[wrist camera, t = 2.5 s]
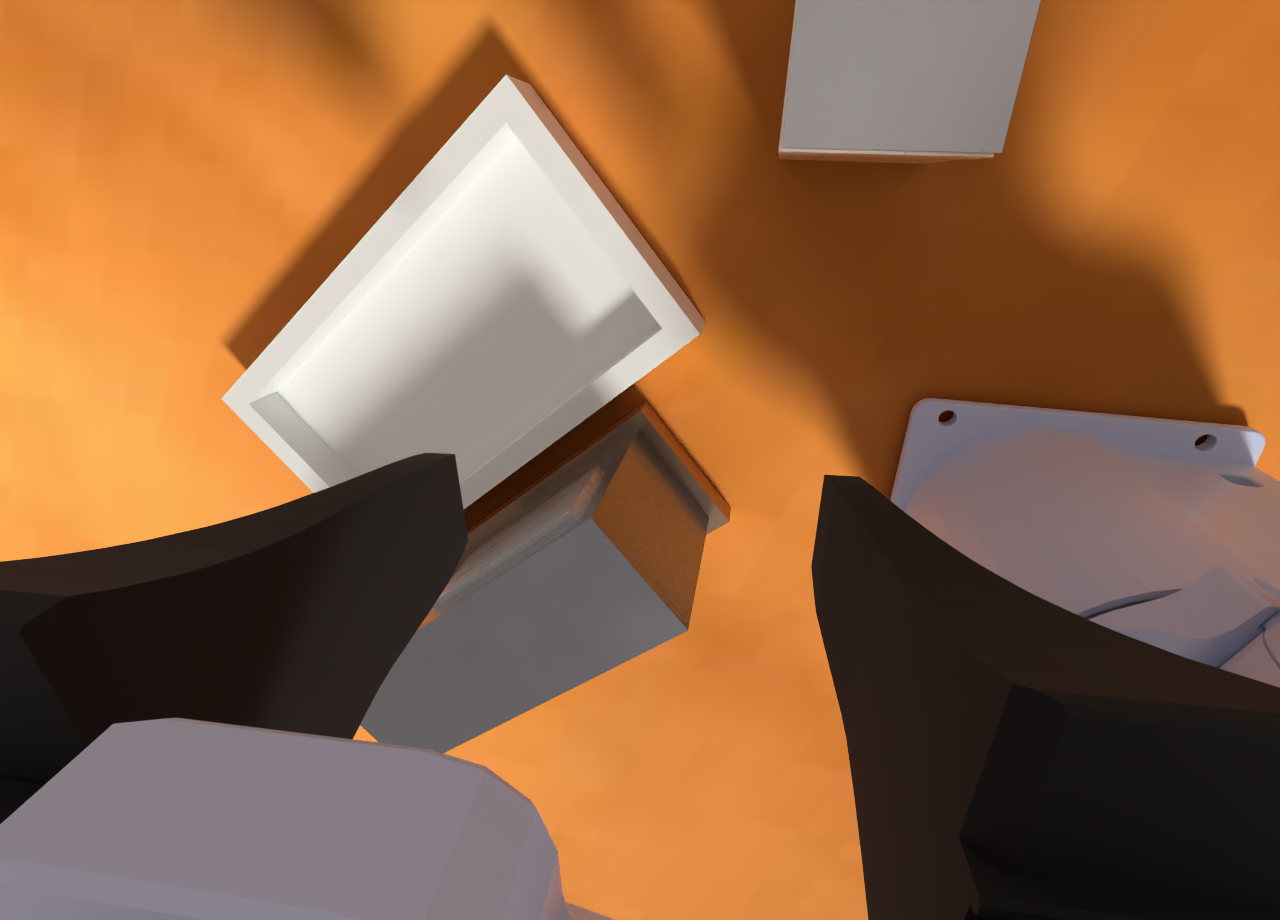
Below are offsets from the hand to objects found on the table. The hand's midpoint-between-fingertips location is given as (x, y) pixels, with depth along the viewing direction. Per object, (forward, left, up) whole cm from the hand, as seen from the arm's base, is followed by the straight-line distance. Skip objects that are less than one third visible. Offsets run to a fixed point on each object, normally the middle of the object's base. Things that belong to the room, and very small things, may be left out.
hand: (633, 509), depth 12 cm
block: (-4, -8, -10) cm, 13 cm away
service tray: (+8, 0, -9) cm, 13 cm away
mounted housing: (+5, +7, -9) cm, 13 cm away
